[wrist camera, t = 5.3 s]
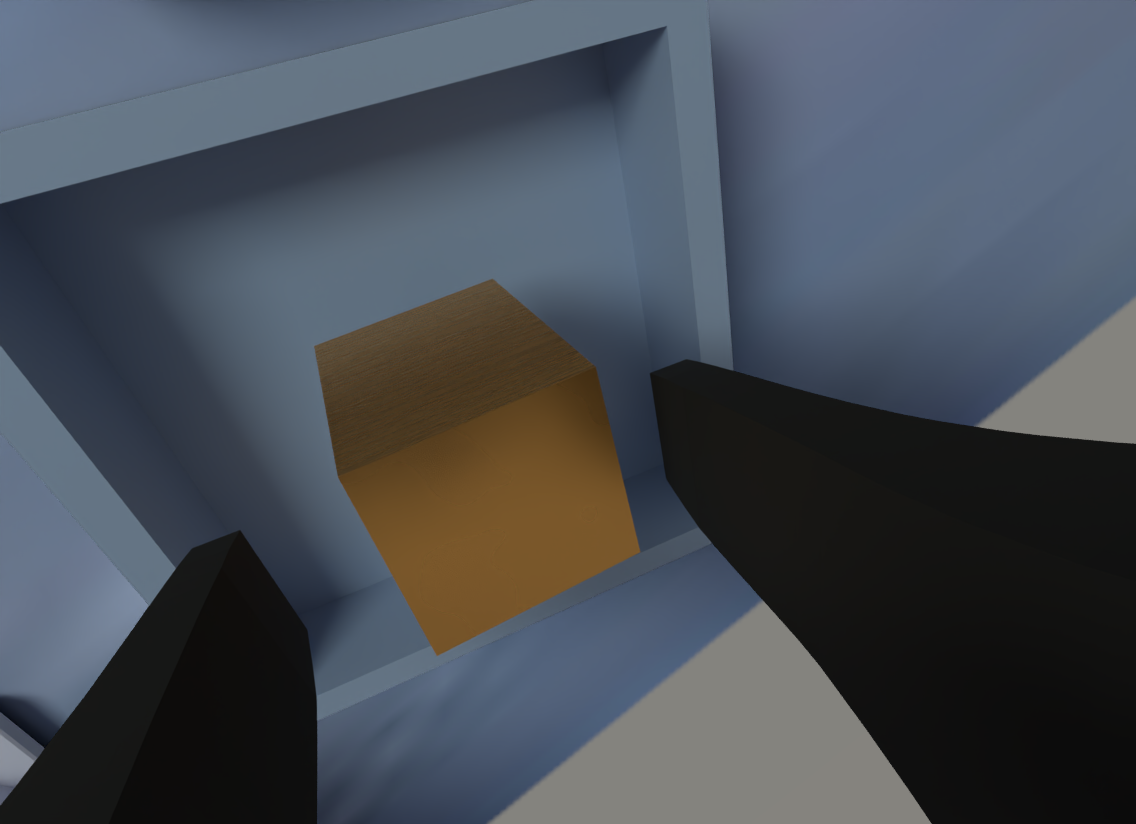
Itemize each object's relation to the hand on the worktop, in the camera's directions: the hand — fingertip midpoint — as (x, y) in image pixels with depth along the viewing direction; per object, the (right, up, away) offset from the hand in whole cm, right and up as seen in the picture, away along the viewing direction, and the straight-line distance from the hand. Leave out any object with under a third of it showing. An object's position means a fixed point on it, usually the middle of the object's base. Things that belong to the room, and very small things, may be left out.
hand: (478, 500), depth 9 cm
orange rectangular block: (-2, +3, +4) cm, 5 cm away
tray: (-2, +2, +4) cm, 5 cm away
